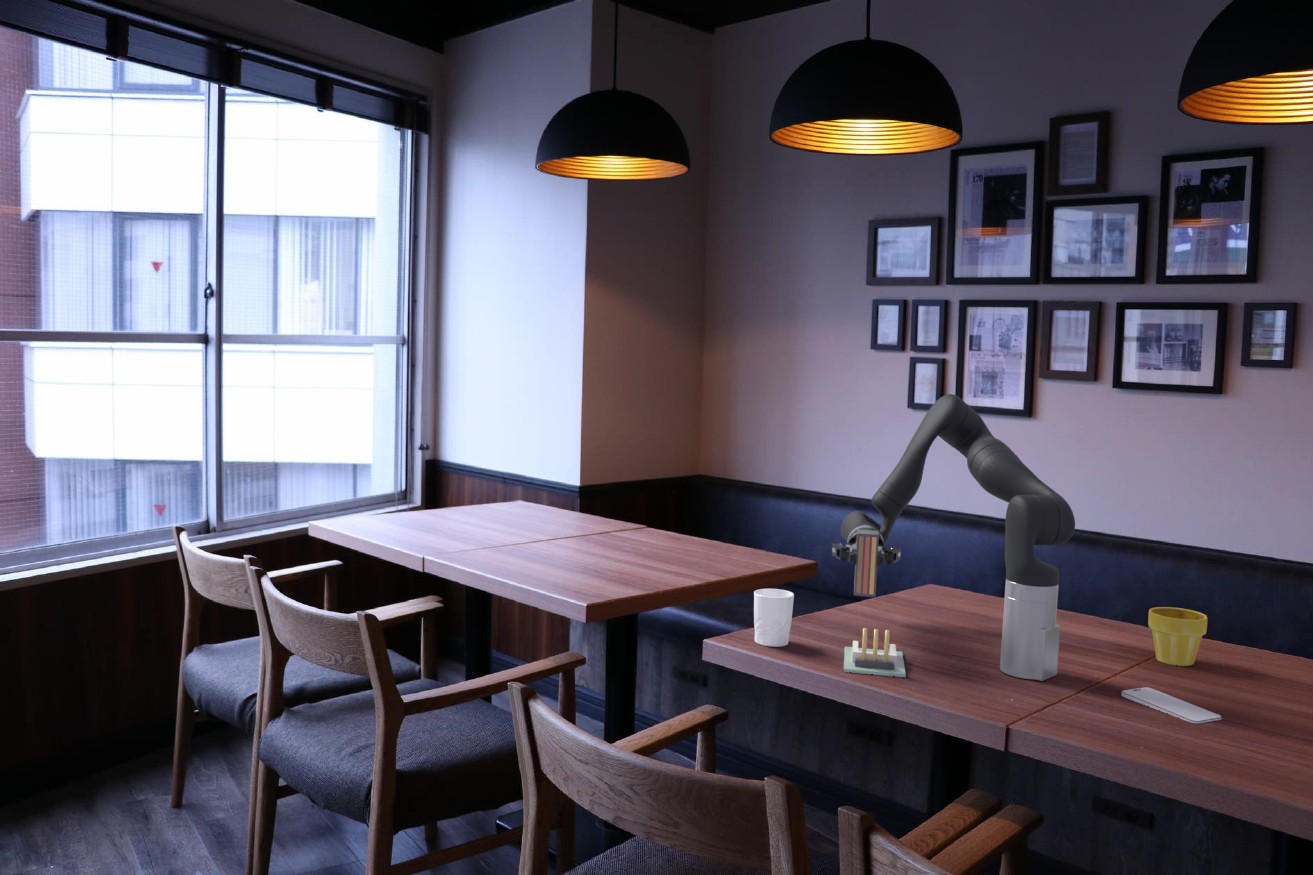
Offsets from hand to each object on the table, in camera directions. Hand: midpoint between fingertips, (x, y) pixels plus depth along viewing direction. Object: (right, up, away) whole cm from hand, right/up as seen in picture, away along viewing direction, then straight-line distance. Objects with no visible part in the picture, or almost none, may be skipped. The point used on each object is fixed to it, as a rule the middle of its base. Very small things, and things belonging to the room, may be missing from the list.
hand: (866, 560), depth 197 cm
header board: (+1, -19, -2) cm, 19 cm away
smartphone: (+47, -23, -20) cm, 57 cm away
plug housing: (0, -7, +3) cm, 8 cm away
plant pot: (+62, -21, +8) cm, 66 cm away
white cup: (-17, -18, +10) cm, 26 cm away
